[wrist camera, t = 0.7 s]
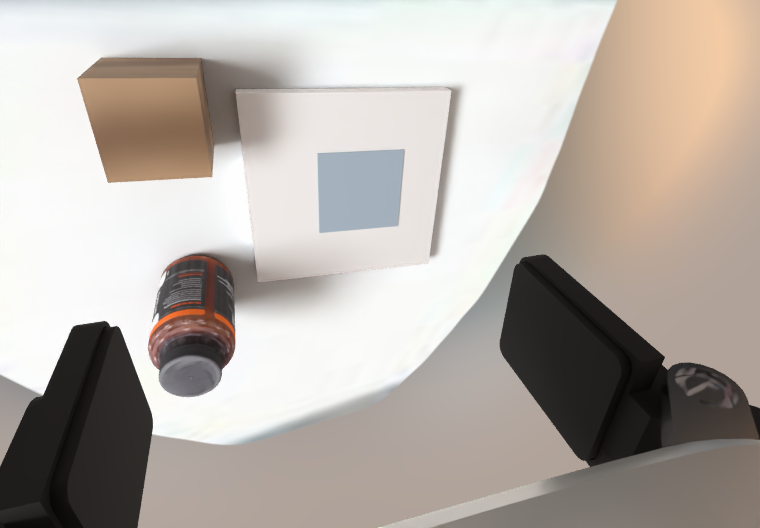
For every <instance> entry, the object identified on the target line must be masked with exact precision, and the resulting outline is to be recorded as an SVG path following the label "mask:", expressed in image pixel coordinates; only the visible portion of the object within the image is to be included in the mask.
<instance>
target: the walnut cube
mask: <svg viewBox="0 0 760 528" xmlns="http://www.w3.org/2000/svg"><path fill="white" fill-rule="evenodd" d="M77 79H78V83H79V86H80V89H81V93H82V96H83V100H84V103H85V106H86V110H87V113H88V116H89V120H90V123H91V127H92V130H93V133H94V137H95V140H96V144H97V147H98V150H99V154H100V157H101V160H102V164H103V167H104V171H105V174H106V177H107V181H108V183H111V182H128V181H146V180H164V179H182V178H200V177H212V169H213V153H214V143H213V136H212V130H211V123H210V116H209V110H208V103H207V97H206V90H205V83H204V77H203V70H202V64H201V58H100V59H99V60H98V61H97V62H96V63H95V64H93V65H92V66H91V67H90V68H89V69H88V70H87V71H85V72H84V73H83V74H82V75H81V76H80V77H78V78H77Z"/></svg>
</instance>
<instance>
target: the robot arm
mask: <svg viewBox="0 0 760 528" xmlns="http://www.w3.org/2000/svg"><path fill="white" fill-rule="evenodd" d="M500 350H501V352H502V355H503V357H504V358H505V359H506V361H507V362H508V363H509V365H510V366H511V367H512V369H513V370H514V372H515V373H516V374H517V376H518V377H519V378H520V380H521V381H522V382H523V384H524V385H525V387H526V388H527V389H528V391H529V392H530V393H531V395H532V396H533V397H534V399H535V400H536V401H537V403H538V404H539V405H540V407H541V408H542V410H543V411H544V412H545V414H546V415H547V416H548V418H549V419H550V420H551V422H552V423H553V425H554V426H555V427H556V429H557V430H558V431H559V433H560V434H561V435H562V437H563V438H564V439H565V441H566V442H567V444H568V445H569V446H570V448H571V449H572V450H573V452H574V453H575V454H576V456H577V457H578V458H580V459H581V460H585V461H586V462H587V463H588V465H589V466H590V467H589V468H586V469H582V470H578V471H575V472H571V473H568V474H564V475H561V476H557V477H553V478H550V479H546V480H543V481H539V482H536V483H533V484H529V485H525V486H522V487H518V488H514V489H511V490H507V491H504V492H501V493H497V494H493V495H490V496H486V497H483V498H479V499H476V500H472V501H469V502H465V503H462V504H459V505H455V506H452V507H448V508H445V509H441V510H438V511H434V512H431V513H427V514H424V515H420V516H417V517H413V518H410V519H407V520H403V521H400V522H396V523H393V524H389V525H386V526H382V527H379V528H760V408H757V407H755V406H751V405H749V403H748V400H747V397H746V395H745V393H744V392H743V390H742V389H741V388H740V387H739V386H738V384H736V382H734V381H733V380H732V379H730V378H729V377H728V376H726V375H725V374H723V373H721V372H719V371H717V370H715V369H713V368H710V367H707V366H704V365H701V364H695V363H678V364H675V365H672V366H671V367H670V369H668V370H667V369H666V368H665V367H664V366H663V365H662V362H663V360H664V358H665V357H664V356H663V355H662V354H661V353H660V352H658V351H657V350H656V349H655V348H654V347H653V346H651V345H650V344H649V343H648V342H647V341H646V340H644V339H643V338H642V337H641V336H640V335H639V334H638V333H636V332H635V331H634V330H633V329H632V328H631V327H629V326H628V325H627V324H626V323H625V322H624V321H623V320H621V319H620V318H619V317H618V316H617V315H616V314H614V313H613V312H612V311H611V310H610V309H609V308H607V307H606V306H605V305H604V304H603V303H602V302H601V301H599V300H598V299H597V298H596V297H595V296H593V295H592V294H591V293H590V292H589V291H588V290H587V289H585V288H584V287H583V286H582V285H581V284H580V283H578V282H577V281H576V280H575V279H574V278H573V277H571V276H570V275H569V274H568V273H567V272H566V271H565V270H564V269H562V268H561V267H560V266H559V265H558V264H557V263H555V262H554V261H553V260H552V259H551V258H549V257H548V256H547V255H536V256H530V257H524V258H522V259H521V261H520V263H519V264H517V265H516V266H515V269H514V273H513V278H512V283H511V288H510V293H509V298H508V303H507V309H506V313H505V318H504V323H503V329H502V334H501V339H500ZM152 429H153V419H152V413H151V410H150V408H149V405H148V402H147V399H146V397H145V394H144V391H143V389H142V386H141V383H140V381H139V378H138V375H137V373H136V370H135V367H134V365H133V362H132V359H131V357H130V354H129V351H128V349H127V346H126V343H125V340H124V338H123V335H122V332H121V330H120V328H119V327H117V326H115V327H110V325H109V324H108V323H107V322H106V321H102V322H95V323H89V324H82V325H76V326H74V327H73V328H72V330H71V332H70V334H69V337H68V339H67V341H66V344H65V346H64V348H63V351H62V353H61V355H60V358H59V360H58V362H57V365H56V367H55V369H54V372H53V374H52V376H51V379H50V381H49V383H48V386H47V388H46V390H45V393H44V395H43V396H41V397H36V398H35V399H33V400H32V401H31V402H30V404H29V405H28V407H27V409H26V411H25V413H24V416H23V418H22V420H21V422H20V425H19V427H18V429H17V431H16V433H15V436H14V438H13V440H12V442H11V444H10V447H9V449H8V451H7V453H6V455H5V458H4V460H3V462H2V464H1V466H0V528H137V527H138V520H139V514H140V507H141V501H142V494H143V488H144V481H145V475H146V468H147V462H148V455H149V449H150V442H151V436H152Z"/></svg>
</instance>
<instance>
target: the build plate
mask: <svg viewBox="0 0 760 528" xmlns="http://www.w3.org/2000/svg"><path fill="white" fill-rule="evenodd" d="M235 91H236V101H237V109H238V118H239V126H240V135H241V143H242V152H243V160H244V169H245V177H246V186H247V194H248V203H249V212H250V220H251V229H252V237H253V246H254V254H255V263H256V271H257V280H258V283H260V282H269V281H278V280H286V279H295V278H304V277H313V276H322V275H331V274H340V273H348V272H357V271H366V270H375V269H384V268H393V267H401V266H410V265H419V264H428V263H429V256H430V249H431V241H432V234H433V226H434V219H435V211H436V204H437V196H438V188H439V181H440V173H441V166H442V158H443V151H444V143H445V136H446V128H447V121H448V113H449V106H450V98H451V90H449V89H448V88H446V87H411V88H315V89H235Z"/></svg>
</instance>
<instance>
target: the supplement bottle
mask: <svg viewBox="0 0 760 528" xmlns="http://www.w3.org/2000/svg"><path fill="white" fill-rule="evenodd" d="M234 350H235V312H234V285H233V279H232V276H231V274H230V272H229V270H228V269H227V268H226V267H225V266H224V265H223V264H222V263H220V262H219V261H217V260H215V259H213V258H210V257H206V256H196V255H195V256H187V257H183V258H180V259H178V260H176V261H174V262H172V263H171V264H170V265H169V266H168V267H167V268H166V269H165V271H164V272H163V274H162V276H161V280H160V283H159V289H158V294H157V300H156V305H155V310H154V316H153V320H152V327H151V332H150V338H149V344H148V351H149V356H150V359H151V361H152V363H153V364H154V366H156V368H157V369H159V370H160V371H159V382H160V384H161V386H162V387H163V388H164V389H165V390H166V391H167V392H169V393H171V394H173V395H176V396H181V397H195V396H199V395H203V394H205V393H207V392H209V391H211V390H212V389H214V388H215V387H216V386H217V385H218V383H219V382H220V380H221V376H222V369H223V368H224V367H225V366H226V365H227V364H228V363H229V361H230V360H231V358H232V356H233V354H234Z"/></svg>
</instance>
